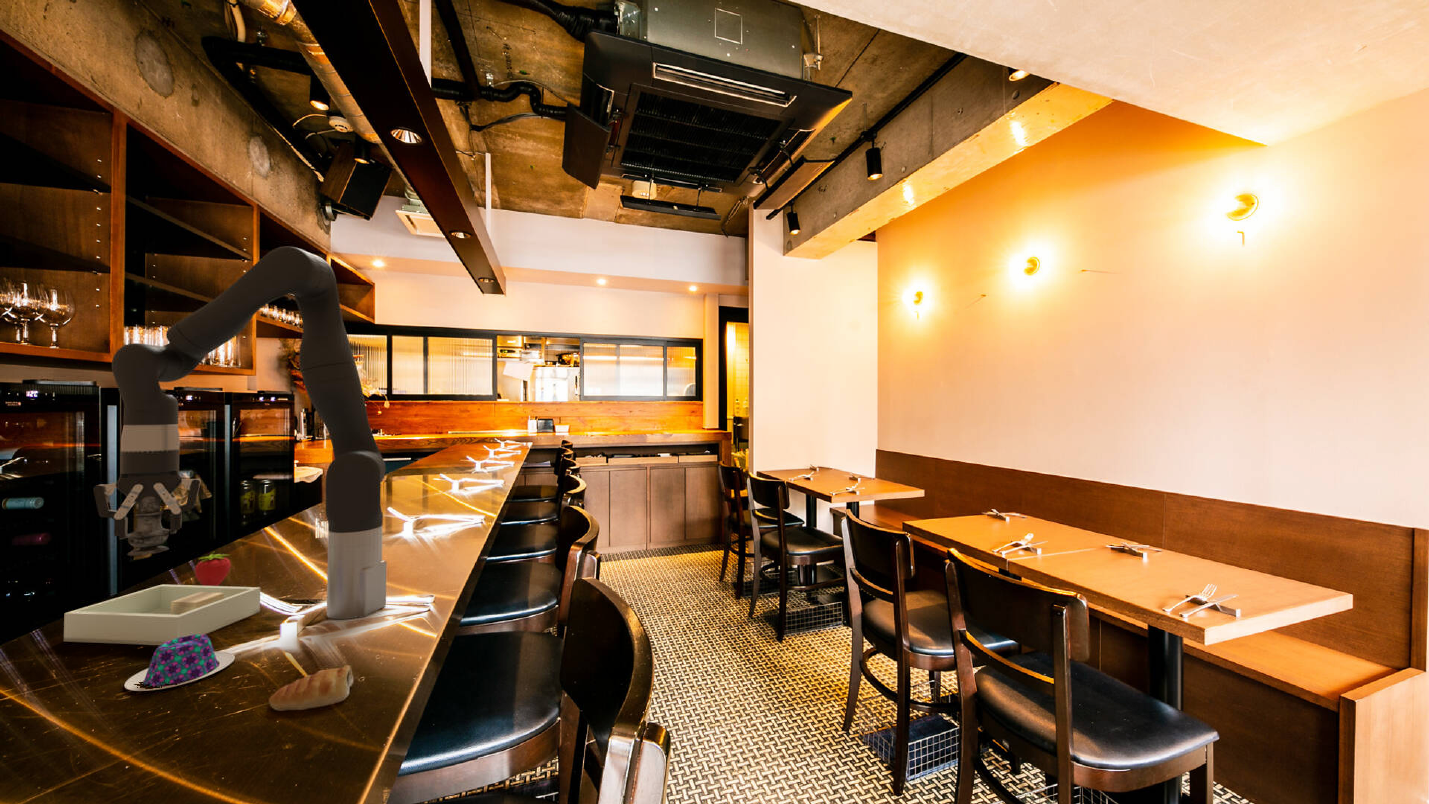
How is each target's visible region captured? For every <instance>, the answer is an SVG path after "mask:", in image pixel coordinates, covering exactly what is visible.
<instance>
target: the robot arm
mask: <svg viewBox="0 0 1429 804" xmlns="http://www.w3.org/2000/svg"><path fill="white" fill-rule="evenodd" d="M338 291H339V290H338V284H337V279H336V275H335V272H334V270H333V268H332V266H331V265H330V264H329V263H328V262H327V261H326V260H325V259H323V258H322V257H321V256H318V255H316V254H314V253H311V252H308V251H306V250H305V249H303V248H298V247H294V246H289V245H288V246H286V245H285V246H278V247H277V248H274V249H273V250H270V251H269V252H268V253H266V254H265V255H264V256H263V257H262V258H260V259H259V260H258V261H257V262H256V263H255V264H254V265H253V266H252V267H251V268H249V270H247V271H246V272H245V273H244V274H243V275H241V276H240V278H238V279H237V280H236V281H235V282H234V283H232V284H231V285H230V286H229V287H228V288H227V289H225V290H224V291H223V292H222V293H221V294H219V295H218V296H217V297H215V298H214V299H212V300H211V301H210V302H208V303H207V304H205V305H204V306H202V307H200V308H199V309H197V310H195V311H194V312H193V313H190V314H189V315H187V316H186V317H184V318H182V319H181V320H179V321H178V322H176V323H174V324H173V325H171V326H170V327H169V328H168V329H167V331H166V333H165V337H166V339H167V341H168V343H167V344H165V345H162V346H161V345H153V344H146V343H128V344H125V345H122V346H121V347H119V348H118V350H116V351H115V353H114V355H113V357H112V361H111V370H112V371H111V372H112V374H113V375H112V376H113V377H114V380H115V383H116V386H117V388H118V391H119V392H118V393H119V395H120V397H121V399H122V402H123V426H122V427H123V428H122V433H121V435H120V436H121V439H120V473H119V474H120V475H119V479H118V480H117V481H116V482H113V483H108V484H106V483H105V484H103V483H100V484H98V485H95V486H94V487H93V488H92V489H93V494H94V500H95V503H96V508H97V513H98V516H99V517H100V518H107V519H112V520H113V521H114V525H113V527H114V528H113V534H114V536H115V538H116V537H119V540H125V539H126V538H127V537H125V536H126V535H127V534H128V523H129V521H128V520H129V519H128V517H127V514H128V513H129V512H130V510H131V508H132V507H133V506H134V504H135V503H138V502H141V500H142V499H143V498H145V497H154V498H156V501H159V500H161V501H163V503H164V504H165V505H167V507H168V508H169V510H170V511H171V514H170V517H169V518H170V521H169V530H170V532H169V535H172V534H176V533H177V531H179V530H181V528H182V527H183V526H182V524H183V523H182V522H183V517H182V516H183V513H185V512H186V511H191V510H193V509H194V508H195V507H196V505H197V500H198V495H199V491H200V486H201V484H202V480H201V478H182V476H181V474H180V446H181V440H180V431H179V402H178V400H177V398H176V397H175V396H173V395H170V394H167V393H164V392H163V391H162V388H161V385H160V383H169V382H170V383H172V382H176V381H178V380H181V379H184V378H185V377H186V376H189V375H190V374H192V373H193V371H194V370H195V369H196V368H197V367H198V366H199V365H200V364H201V363H202V362H203V361H204V359H205V358H206V357H207V355H208V354H209V353H212V352H213V351H215V350H216V349H218V348H220V347H221V346H223V345H224V344H226V343H228V342H229V341H231V340H233V339H234V338H235V337H236V336H237V335H239V334H240V333H241V332H242V331H243V330H244V329H245V327H247V325H248V324H249V322H250V321H251V320H252V318H253V316H254V315H255V314H256V313H257V312H258V311H259V310H261V309H262V308H263V307H265V306H266V305H268V304H269V303H271V302H273V301H275V300H277V299H279V298H282V297H285V296H287V295H292V296H293V297H294V300H295V303H296V304H297V307H298V311H299V312H300V313H299V314H300V317H301V320H302V336H301V342H300V347H299V353H298V354H299V355H298V364H299V369H300V374H301V377H302V380H303V383H304V386H305V390H306V393H307V395H308V397H309V400H310V402H311V404H312V405H313V408H314V409H315V411H316V413H317V414H318V416H319V417H320V420H322V422H323V424H324V426H325V428H326V430H327V432H328V435H329V438H330V442H331V446H332V451H333V457H334V459H333V460H332V461H331V462H330V463H329V465H328V467H327V470H326V474H325V487H324V488H325V516H326V519H327V520H326V521H327V523H328V529H327V530H328V531H327V532H328V533H327V537H328V538H327V573H326V574H327V581H326V582H327V584H326V617H327V618H329V619H332V620H345V619H346V620H347V619H353V618H360V617H362V618H363V617H367V616H368V615H370V614H372V613H374V612H376V611H378V610H379V609H382V608H383V606H384V607H385V606H387V568H388V567H387V566H388V565H387V564H388V563H387V561H386V560H383V527H384V523H383V522H384V521H383V520H384V518H383V517H384V515H383V514H384V513H383V511H382V507H381V506H382V505H381V494H382V493H381V486H382V485H381V483H382V482H383V480H384V479H385V476H386V471H387V468H386V467H387V466H386V463H385V461H384V458H383V455H382V454H381V452H380V450H379V447H378V445H377V442H376V439H375V437H374V434H373V432H372V429H371V427H370V423H369V418H368V412H367V411H368V410H367V406H366V400H365V396H364V393H363V392H364V391H363V388H362V383H361V378H360V374H359V372H358V371H359V370H358V367H357V364H356V361H355V358H354V354H353V352H352V348H351V345H350V344H351V343H350V342H349V337H348V334H347V331H346V330H347V329H346V328H345V327H346V326H345V325H344V320H343V316H342V310H341V305H340V298H339V292H338ZM180 485H183V486H184V489H185V490H188V495H187V499H186V503H184V504H180V502H179V501H178V498H177V497H176V495H175V494H174V493H173V492H174V491H175V490H176V489H177V488H178V487H179V486H180ZM115 489H117V490H118V491H120V492H121V493H122V494H124V496H126V498H125V499H124V501H123V502H122V503H121V505H120V507H119V508H118V509H117V510H115V509H112V505H111V501H110V496H111V495H112V494H114V490H115ZM127 539H128V538H127ZM127 539H126V540H127Z"/></svg>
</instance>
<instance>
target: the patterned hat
mask: <svg viewBox="0 0 1429 804" xmlns="http://www.w3.org/2000/svg"><path fill="white" fill-rule="evenodd" d="M235 658H236V656H235V654H233V653H232V652H228V651H214V647H213V644H212V642H211V638H210V637H209V636H208V635H207V634H205V635H198V634H197V635H190V636H186V637H179V638H176V639H174V640H171V641H167V642H165V643H163V644H162V645H158V647H156V649H155V650H154V652H153V654H152V657H151V660H150V663H149V666H148V668H146V669H143V670H141V671H139V672H138V673H136V674H134V675H132V676H130V677H129V678H128V679H127V680H126V681H125V683H124V684H123V685H124V688H125V689H126V690H129V691H137V692H143V691H148V692H149V691H156V690H163V689H169V688H173V687H177V686H182V685H185V684H189V683H192V682H195V681H198V680H200V679H204V678H206V677H208V676H211V675H213V674H215V673H217V672H219V671H221V670H223V669H225V668H227V667H228V666H229V665H231V664H232V663H233V662H234V660H235ZM218 663H219V664H218ZM139 682H143V685H149V687H150V686H153V687H155V686H157V687H160V688H153V689H145V688H140V686H137V685H134V684H140V683H139ZM165 684H170V685H165ZM171 684H173V685H171ZM175 684H177V685H175ZM161 685H162V686H161ZM137 687H138V688H137ZM161 687H162V688H161Z"/></svg>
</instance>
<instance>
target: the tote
mask: <svg viewBox="0 0 1429 804" xmlns="http://www.w3.org/2000/svg"><path fill="white" fill-rule="evenodd" d="M199 592H211V593H224V599H222V600H219V601H216V602H213V603H211V604H208V605H205V606H202V607H199V608H197V609H194V610H191V611H188V612H185V613H183V614H180V615H171V602H172V601H175V600H178V599H181V598H184V597H187V596H190V595H193V594H196V593H199ZM260 612H261V587H253V586H226V585H225V586H223V585H221V586H220V585H218V586H203V585H193V584H191V585H187V584H160V585H156V586H151V587H149V588H146V589H141V590H138V591H136V592H132V593H128V594H125V595H122V596H119V597H115V598H111V599H108V600H105V601H102V602H99V603H94V604H91V605H88V606H84V607H81V608H78V609H75V610H71V611H68V612H65V613H64V618H63V619H64V621H63V626H64V627H63V642H72V643H73V642H75V643H95V644H96V643H98V644H99V643H100V644H122V645H123V644H124V645H127V644H128V645H146V646H147V645H148V646H160V645H162V644H163V643H165V642H167V641H171V640H174V639H176V638H179V637H186V636H190V635H197V634H198V635H207V634H209V633H211V632H214V631H217V630H219V629H221V628H223V627H226V626H228V625H229V626H230V625H231V624H234V623H236V622H239V621H241V620H243V619H246V618H248V617H251V616H253V615H256V614H258V613H260Z"/></svg>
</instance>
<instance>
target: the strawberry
mask: <svg viewBox="0 0 1429 804" xmlns="http://www.w3.org/2000/svg"><path fill="white" fill-rule="evenodd" d="M227 556H230V554H222V553H217V554H214V552H212V553H210V554H209V555H207V556H201V557H200V558H198V560H201V561H199V562H198V563H197V564H196V565H195V567H194V574H195V577H196V580H197V581H198V582H199V583H200V584H201V586H220V584H222V582H223V581H224V579H225V578H227V576H228V574H229V572H230V569H231V568H232V567H231V566H232V565H231V561H230V559H229V558H227Z"/></svg>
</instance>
